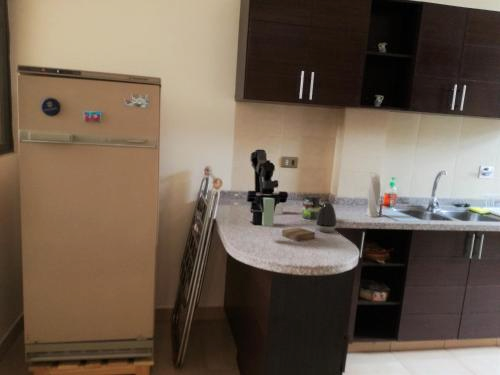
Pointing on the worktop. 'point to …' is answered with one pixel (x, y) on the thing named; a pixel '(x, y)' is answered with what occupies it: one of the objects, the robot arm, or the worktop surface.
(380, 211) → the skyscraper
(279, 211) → the jar
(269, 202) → the green block
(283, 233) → the walnut riser
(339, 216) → the worktop surface
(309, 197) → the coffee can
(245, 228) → the worktop surface
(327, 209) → the dark rounded piece
